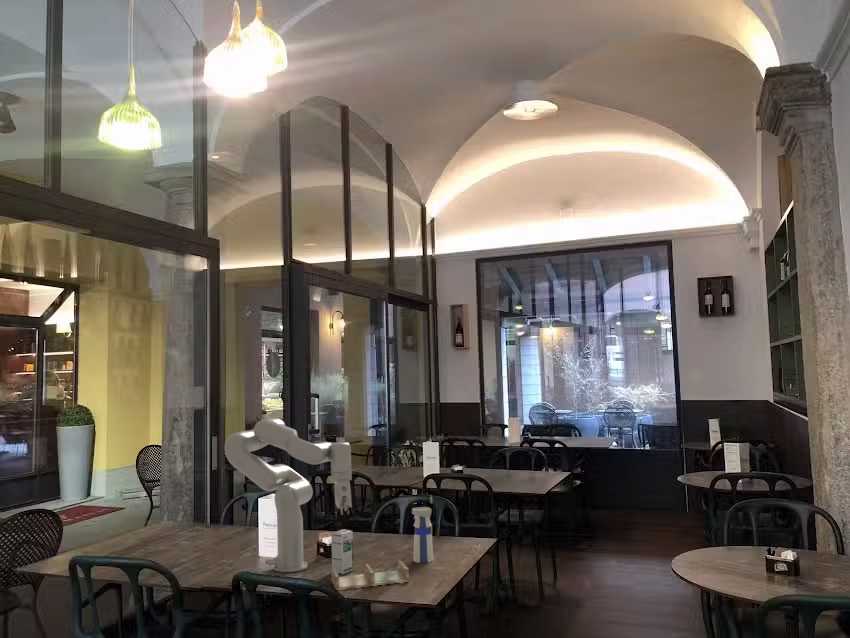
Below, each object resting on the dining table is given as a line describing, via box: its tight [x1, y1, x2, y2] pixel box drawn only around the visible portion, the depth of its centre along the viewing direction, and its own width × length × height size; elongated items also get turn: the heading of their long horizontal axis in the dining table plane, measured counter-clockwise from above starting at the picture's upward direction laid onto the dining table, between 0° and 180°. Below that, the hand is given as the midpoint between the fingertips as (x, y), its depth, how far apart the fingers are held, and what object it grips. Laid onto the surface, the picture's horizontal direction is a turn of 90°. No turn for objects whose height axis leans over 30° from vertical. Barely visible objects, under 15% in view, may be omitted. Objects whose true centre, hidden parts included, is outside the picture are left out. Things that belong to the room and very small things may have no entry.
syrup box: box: [330, 529, 355, 575], centre depth 248 cm, size 6×6×14 cm
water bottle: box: [411, 495, 434, 564], centre depth 261 cm, size 8×8×25 cm
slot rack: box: [330, 559, 410, 591], centre depth 234 cm, size 25×12×4 cm, turn 106°
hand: (343, 523), depth 249 cm, fingers open, 9 cm apart
